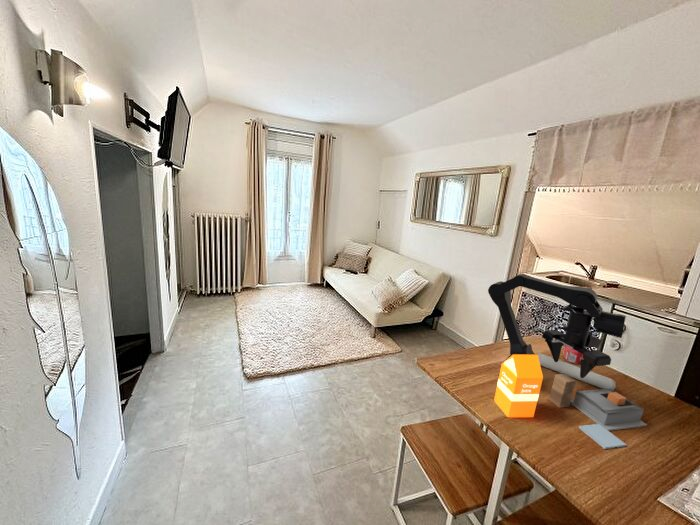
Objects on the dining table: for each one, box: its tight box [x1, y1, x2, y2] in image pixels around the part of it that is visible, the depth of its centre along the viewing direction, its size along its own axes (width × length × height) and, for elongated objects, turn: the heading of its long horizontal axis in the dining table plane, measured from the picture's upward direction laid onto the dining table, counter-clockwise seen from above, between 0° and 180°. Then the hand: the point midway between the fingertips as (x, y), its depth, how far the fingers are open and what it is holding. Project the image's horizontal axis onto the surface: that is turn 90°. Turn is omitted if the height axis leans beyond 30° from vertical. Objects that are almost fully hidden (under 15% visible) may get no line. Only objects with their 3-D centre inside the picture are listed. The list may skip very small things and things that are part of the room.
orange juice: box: [493, 354, 544, 418], centre depth 89 cm, size 8×9×20 cm
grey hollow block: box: [570, 388, 648, 432], centre depth 92 cm, size 16×13×5 cm
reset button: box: [607, 391, 627, 405], centre depth 91 cm, size 3×3×2 cm
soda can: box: [562, 344, 587, 365], centre depth 122 cm, size 7×7×12 cm
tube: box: [537, 352, 617, 391], centre depth 111 cm, size 5×5×25 cm
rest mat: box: [578, 423, 627, 450], centre depth 82 cm, size 8×8×1 cm
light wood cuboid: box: [548, 373, 577, 409], centre depth 94 cm, size 4×4×10 cm
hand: (568, 369), depth 93 cm, fingers open, 9 cm apart
